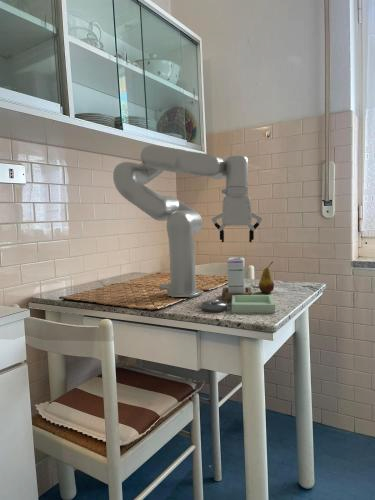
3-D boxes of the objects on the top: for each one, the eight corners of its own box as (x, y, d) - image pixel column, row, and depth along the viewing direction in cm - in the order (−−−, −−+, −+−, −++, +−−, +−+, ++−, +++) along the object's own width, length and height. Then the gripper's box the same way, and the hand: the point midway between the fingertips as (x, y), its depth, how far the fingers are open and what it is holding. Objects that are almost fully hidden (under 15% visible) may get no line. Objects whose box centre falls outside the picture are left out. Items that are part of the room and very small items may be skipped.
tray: (231, 312, 116) (231, 304, 116) (232, 302, 129) (232, 295, 129) (274, 312, 115) (274, 304, 114) (271, 302, 127) (271, 295, 127)
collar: (222, 301, 130) (222, 293, 130) (223, 295, 140) (223, 287, 140) (251, 301, 129) (251, 293, 128) (250, 295, 139) (250, 287, 138)
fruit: (268, 290, 146) (268, 259, 145) (276, 293, 141) (276, 261, 140) (255, 291, 145) (255, 260, 143) (263, 294, 139) (263, 262, 138)
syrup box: (244, 300, 131) (244, 259, 129) (227, 300, 132) (227, 259, 131) (245, 296, 137) (245, 257, 135) (229, 296, 138) (228, 257, 136)
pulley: (200, 312, 117) (200, 303, 117) (203, 306, 125) (203, 297, 125) (226, 312, 116) (226, 303, 116) (227, 306, 124) (227, 297, 124)
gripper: (211, 192, 128) (211, 243, 130) (263, 191, 126) (262, 243, 128) (212, 193, 135) (212, 241, 137) (261, 192, 133) (260, 241, 135)
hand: (236, 242), depth 132 cm, fingers open, 9 cm apart
